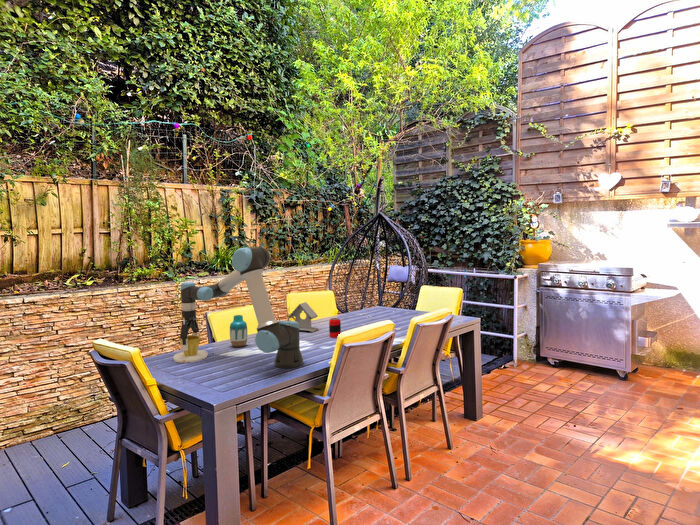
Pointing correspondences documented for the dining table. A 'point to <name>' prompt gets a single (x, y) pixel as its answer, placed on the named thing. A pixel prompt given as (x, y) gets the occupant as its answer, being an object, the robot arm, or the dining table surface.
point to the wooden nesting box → (305, 323)
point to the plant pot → (192, 345)
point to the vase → (238, 331)
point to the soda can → (334, 327)
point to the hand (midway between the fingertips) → (190, 347)
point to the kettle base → (190, 357)
